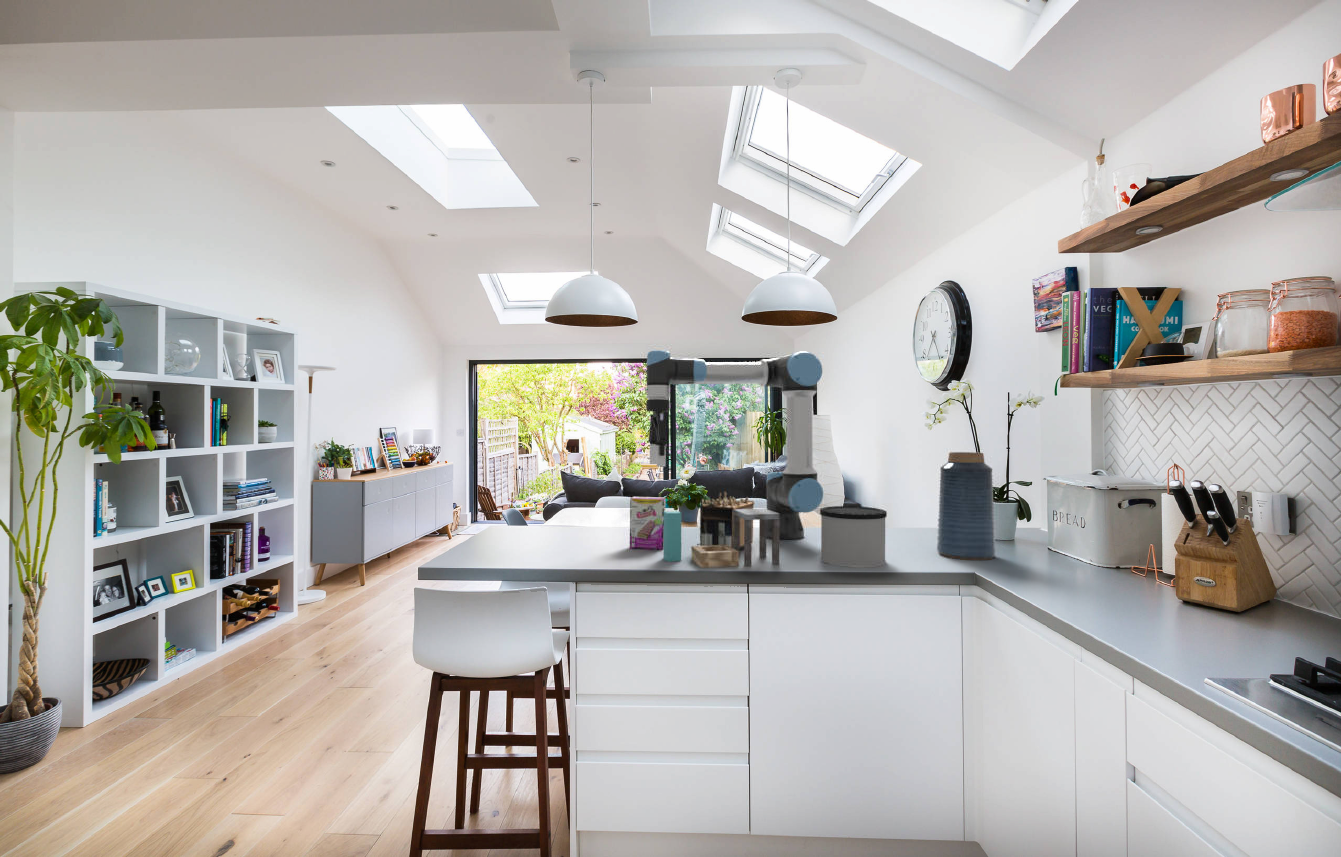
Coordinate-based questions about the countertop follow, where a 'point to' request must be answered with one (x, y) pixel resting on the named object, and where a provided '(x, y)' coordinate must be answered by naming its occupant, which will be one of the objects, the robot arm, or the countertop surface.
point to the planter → (721, 521)
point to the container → (853, 536)
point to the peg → (672, 535)
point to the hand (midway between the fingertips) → (657, 465)
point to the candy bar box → (647, 522)
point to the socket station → (729, 555)
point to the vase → (966, 508)
